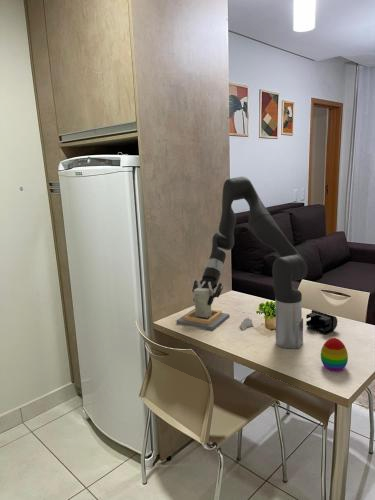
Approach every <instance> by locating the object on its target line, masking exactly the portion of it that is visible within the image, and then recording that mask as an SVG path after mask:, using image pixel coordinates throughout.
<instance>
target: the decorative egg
mask: <svg viewBox="0 0 375 500" xmlns="http://www.w3.org/2000/svg"><path fill="white" fill-rule="evenodd" d="M320 360H321V363H322V365H323V366H324V368H325V369H326V370H328V371H331V372H341V371H343V370H344V369H345V368H346V366H347V364H348V361H349V354H348V349H347V347H346V345H345V343H344V342H343V341H341V340H340V339H339V338H336V337H331V338H329V339H327V340H326V341H325V342H324V344H323V345H322V347H321V351H320Z"/></svg>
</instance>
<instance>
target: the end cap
mask: <svg viewBox="0 0 375 500" xmlns="http://www.w3.org/2000/svg"><path fill="white" fill-rule="evenodd" d="M305 318H306V319H308V320H306V322H305V323H306V324H305V325H306V329H307V330H310V331H313V332H315V333H319V334H321V335H325V336H327V335H329V334H331V333H333V332H334V331H335V330H336V328H337V326H338V318H337V317H336V315H333V314H329V313H326V312H322V311H319V310H317V309H312V310H311V312H310V313H308V314H306V316H305ZM309 318H310V319H309Z"/></svg>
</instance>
